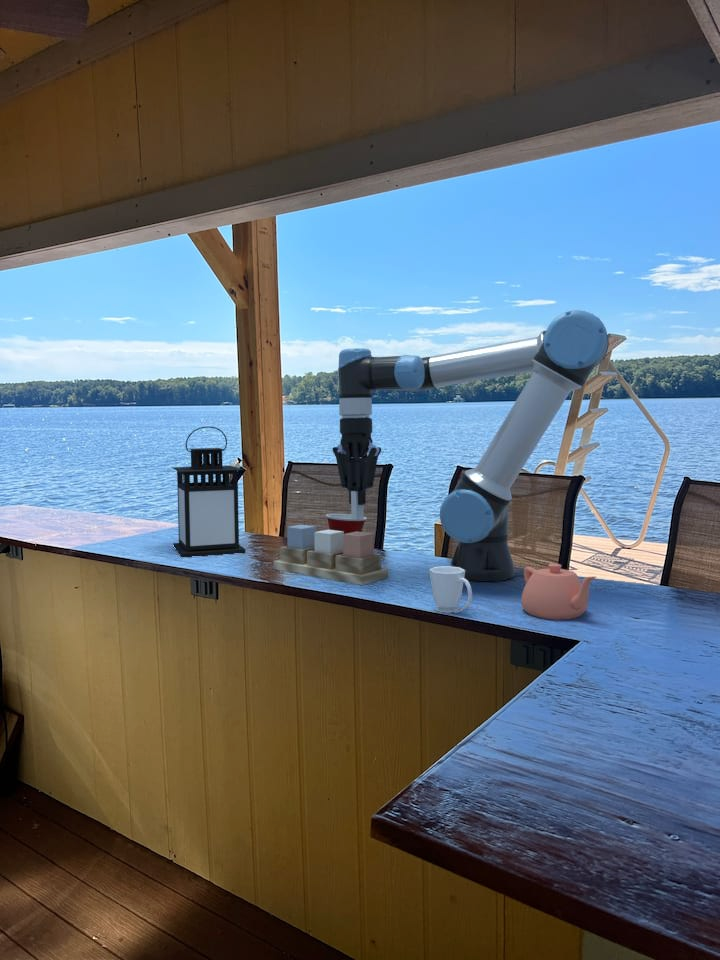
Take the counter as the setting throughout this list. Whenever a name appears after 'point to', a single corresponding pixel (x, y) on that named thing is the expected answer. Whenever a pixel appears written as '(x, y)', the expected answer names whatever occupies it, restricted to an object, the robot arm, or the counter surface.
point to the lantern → (207, 505)
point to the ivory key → (328, 541)
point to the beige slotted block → (331, 565)
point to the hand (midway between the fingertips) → (357, 518)
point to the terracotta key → (358, 544)
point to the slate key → (301, 536)
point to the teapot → (555, 593)
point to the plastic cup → (345, 523)
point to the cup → (449, 588)
